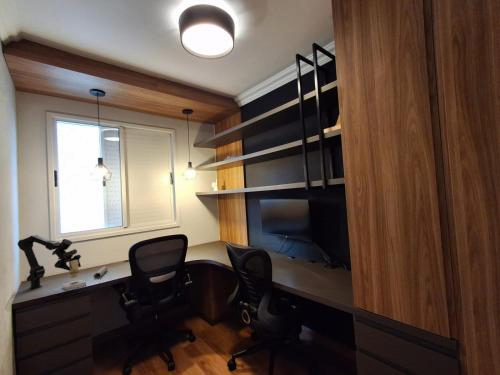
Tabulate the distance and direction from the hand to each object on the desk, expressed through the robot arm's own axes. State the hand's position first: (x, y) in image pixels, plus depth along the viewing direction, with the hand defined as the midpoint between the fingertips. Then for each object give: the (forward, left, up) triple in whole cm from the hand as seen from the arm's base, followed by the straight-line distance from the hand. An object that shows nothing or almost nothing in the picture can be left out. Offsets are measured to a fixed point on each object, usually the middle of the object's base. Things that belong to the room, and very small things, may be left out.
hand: (75, 268), depth 182 cm
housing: (-1, -1, -14) cm, 14 cm away
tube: (-17, +24, -14) cm, 33 cm away
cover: (-1, -1, -7) cm, 7 cm away
